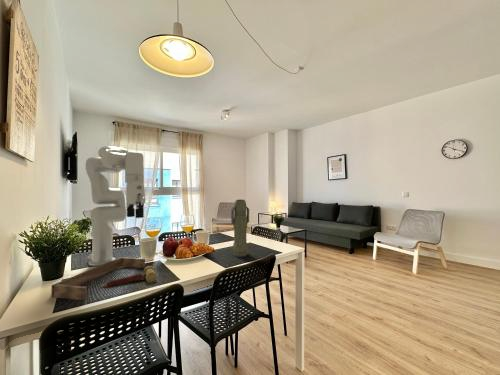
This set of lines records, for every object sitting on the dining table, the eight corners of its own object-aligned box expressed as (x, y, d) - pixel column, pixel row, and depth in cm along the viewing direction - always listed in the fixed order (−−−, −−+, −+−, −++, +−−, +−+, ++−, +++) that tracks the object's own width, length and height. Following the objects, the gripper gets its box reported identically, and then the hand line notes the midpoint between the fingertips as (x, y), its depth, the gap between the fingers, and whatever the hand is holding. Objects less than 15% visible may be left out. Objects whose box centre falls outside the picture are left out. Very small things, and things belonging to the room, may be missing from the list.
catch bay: (51, 296, 84) (51, 285, 84) (120, 265, 118) (120, 257, 118) (83, 300, 81) (84, 288, 81) (145, 267, 116) (145, 258, 116)
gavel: (101, 285, 87) (102, 276, 96) (101, 296, 88) (103, 286, 96) (156, 271, 99) (153, 264, 107) (157, 281, 99) (154, 274, 107)
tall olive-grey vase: (251, 254, 137) (252, 199, 138) (235, 258, 131) (235, 200, 131) (244, 251, 145) (244, 199, 145) (228, 254, 138) (229, 199, 139)
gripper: (151, 178, 95) (152, 217, 95) (135, 180, 107) (136, 215, 106) (133, 177, 90) (134, 219, 89) (118, 180, 101) (119, 217, 101)
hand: (135, 217), depth 98 cm, fingers open, 9 cm apart
